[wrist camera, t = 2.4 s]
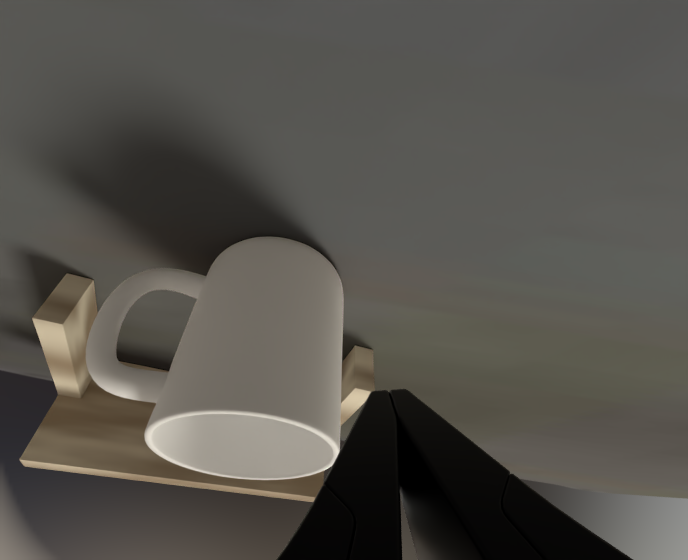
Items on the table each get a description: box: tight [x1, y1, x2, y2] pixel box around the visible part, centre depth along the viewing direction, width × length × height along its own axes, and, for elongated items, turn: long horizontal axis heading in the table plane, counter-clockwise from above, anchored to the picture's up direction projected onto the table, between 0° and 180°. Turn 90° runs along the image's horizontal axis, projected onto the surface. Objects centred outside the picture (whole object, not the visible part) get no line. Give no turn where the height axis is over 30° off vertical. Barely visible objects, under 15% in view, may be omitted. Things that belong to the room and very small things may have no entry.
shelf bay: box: [20, 273, 375, 502], centre depth 26 cm, size 12×21×8 cm, turn 68°
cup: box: [86, 236, 343, 480], centre depth 19 cm, size 8×12×10 cm
